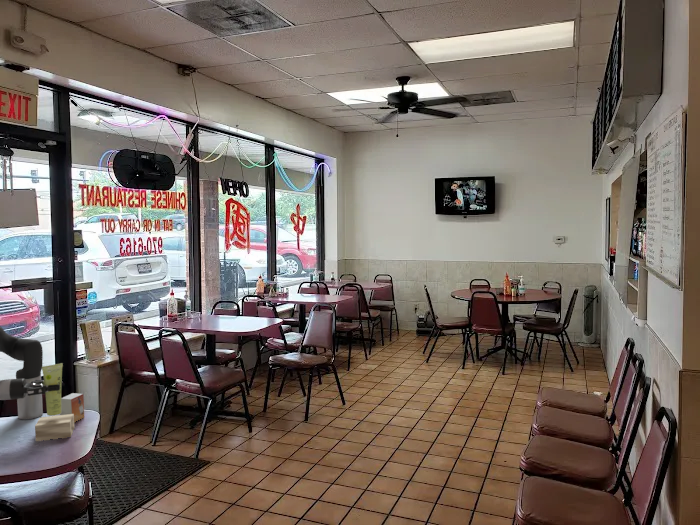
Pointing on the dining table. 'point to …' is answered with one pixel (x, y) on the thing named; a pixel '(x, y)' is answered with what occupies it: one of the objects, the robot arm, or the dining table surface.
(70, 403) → the small box
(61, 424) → the birch block
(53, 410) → the tube
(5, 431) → the dining table surface
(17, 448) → the dining table surface
